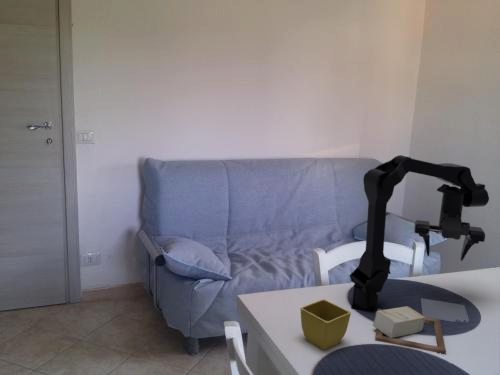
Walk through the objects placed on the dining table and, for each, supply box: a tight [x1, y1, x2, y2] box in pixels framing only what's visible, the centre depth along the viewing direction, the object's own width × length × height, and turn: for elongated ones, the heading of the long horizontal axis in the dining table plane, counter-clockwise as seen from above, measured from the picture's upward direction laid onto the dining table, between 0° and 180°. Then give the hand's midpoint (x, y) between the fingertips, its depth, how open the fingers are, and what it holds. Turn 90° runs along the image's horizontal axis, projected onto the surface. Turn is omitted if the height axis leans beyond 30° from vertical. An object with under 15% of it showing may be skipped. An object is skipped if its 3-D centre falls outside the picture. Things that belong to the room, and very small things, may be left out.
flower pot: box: [300, 299, 352, 350], centre depth 107 cm, size 9×9×9 cm
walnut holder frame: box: [374, 308, 447, 355], centre depth 114 cm, size 16×16×2 cm
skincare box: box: [372, 305, 425, 338], centre depth 114 cm, size 6×4×12 cm
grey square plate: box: [420, 297, 470, 323], centre depth 126 cm, size 12×12×1 cm
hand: (444, 257), depth 133 cm, fingers open, 9 cm apart
